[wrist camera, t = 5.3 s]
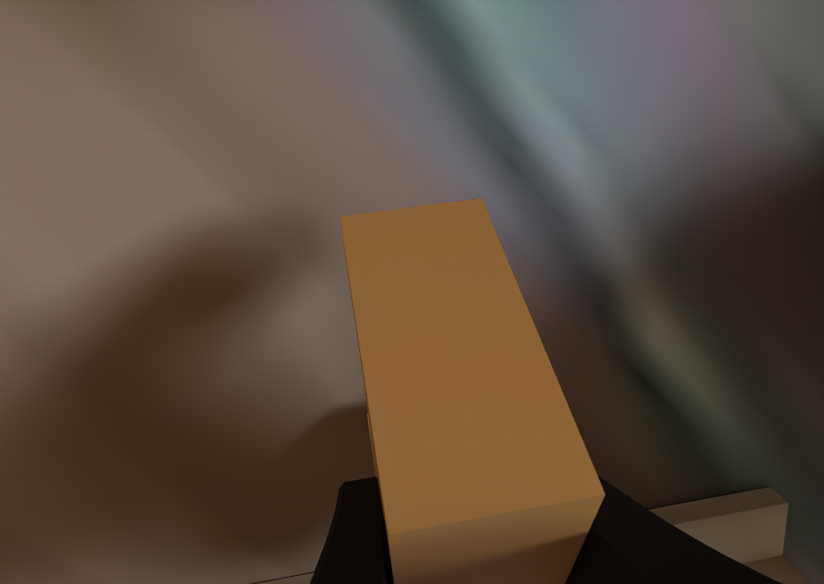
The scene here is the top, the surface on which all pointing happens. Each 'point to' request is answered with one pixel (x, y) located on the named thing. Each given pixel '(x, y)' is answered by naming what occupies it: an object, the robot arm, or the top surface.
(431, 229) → the block
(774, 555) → the stand
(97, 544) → the top surface
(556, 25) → the top surface
